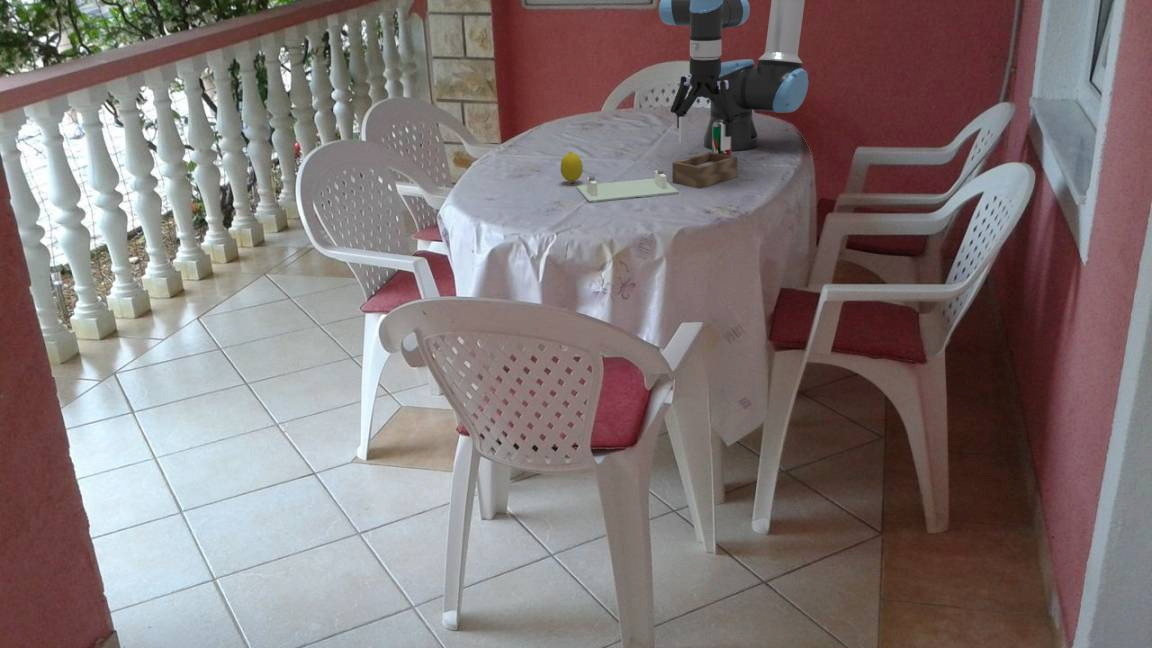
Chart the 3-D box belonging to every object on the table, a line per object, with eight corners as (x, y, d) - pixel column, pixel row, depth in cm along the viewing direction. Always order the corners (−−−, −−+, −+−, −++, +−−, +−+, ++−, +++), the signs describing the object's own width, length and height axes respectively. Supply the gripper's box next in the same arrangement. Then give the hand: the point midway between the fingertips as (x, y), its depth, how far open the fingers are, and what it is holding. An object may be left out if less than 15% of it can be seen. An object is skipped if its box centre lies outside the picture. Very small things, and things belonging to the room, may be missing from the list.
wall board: (661, 179, 259) (661, 162, 258) (678, 193, 246) (678, 176, 245) (576, 188, 255) (575, 171, 254) (589, 202, 243) (588, 185, 241)
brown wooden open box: (709, 171, 265) (709, 152, 263) (737, 176, 258) (737, 157, 257) (672, 182, 256) (672, 162, 254) (699, 188, 250) (699, 168, 248)
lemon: (567, 187, 256) (566, 155, 253) (557, 182, 261) (556, 151, 258) (587, 183, 259) (585, 152, 255) (576, 179, 263) (575, 148, 260)
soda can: (733, 165, 269) (734, 119, 264) (728, 170, 265) (728, 123, 260) (715, 164, 271) (715, 118, 266) (709, 169, 267) (709, 122, 262)
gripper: (656, 55, 252) (656, 141, 260) (736, 63, 235) (733, 155, 243) (677, 52, 257) (677, 136, 265) (756, 59, 239) (753, 150, 247)
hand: (704, 146), depth 254 cm, fingers open, 13 cm apart
